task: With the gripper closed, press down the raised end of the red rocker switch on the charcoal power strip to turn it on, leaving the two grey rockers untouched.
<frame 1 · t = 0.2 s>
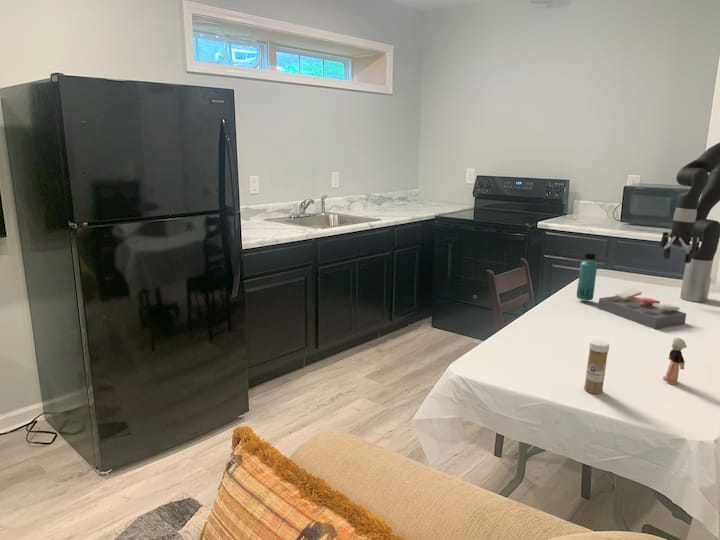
hand: (676, 260, 212), 17 cm above the table, tool pointing down, fingers open, 8 cm apart
grey rocker near bottle: (628, 295, 206), point 5 cm above the table, hinge at 10.0°
red rocker: (646, 301, 199), point 5 cm above the table, hinge at -10.0°
power strip: (639, 315, 199), on the table
grey rocker far end: (665, 307, 192), point 5 cm above the table, hinge at -10.0°
beverage bottle: (584, 302, 216), on the table
sprinkles bottle: (593, 391, 139), on the table
grandmother figurine: (671, 382, 145), on the table
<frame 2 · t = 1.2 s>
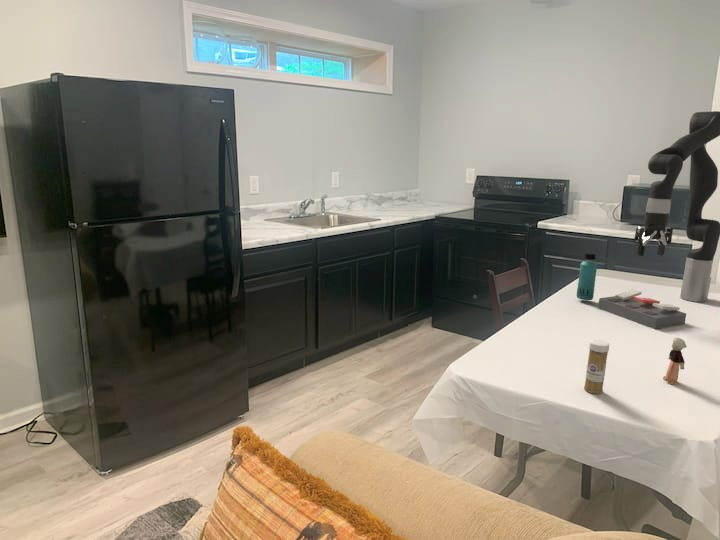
hand: (650, 255, 195), 23 cm above the table, tool pointing down, fingers open, 8 cm apart
nothing on the table moved.
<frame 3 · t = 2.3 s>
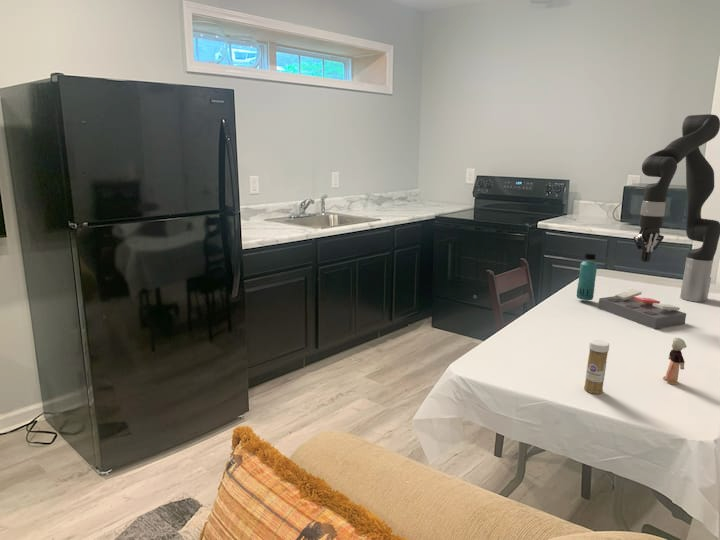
hand: (645, 261, 194), 21 cm above the table, tool pointing down, fingers closed
nothing on the table moved.
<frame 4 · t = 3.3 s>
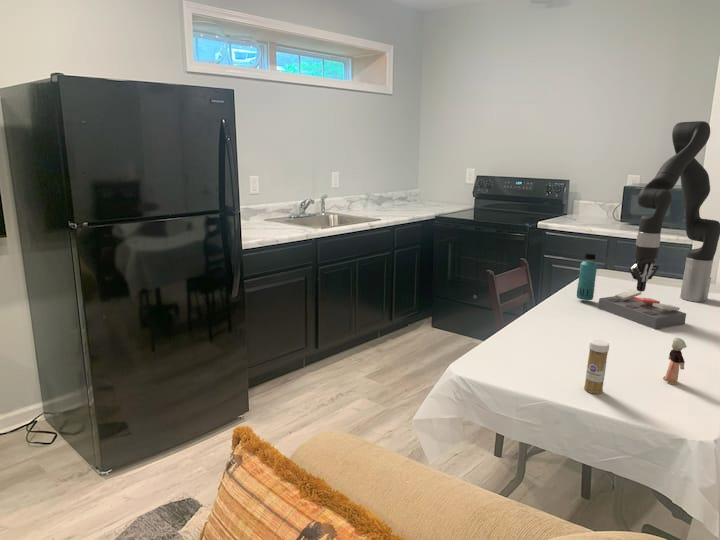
hand: (640, 290, 197), 10 cm above the table, tool pointing down, fingers closed
nothing on the table moved.
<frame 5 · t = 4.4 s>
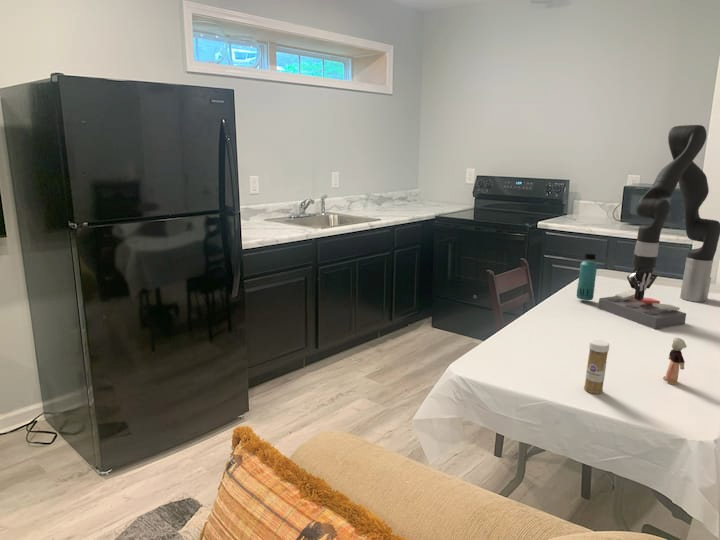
hand: (638, 299, 197), 6 cm above the table, tool pointing down, fingers closed
red rocker: (646, 301, 199), point 5 cm above the table, hinge at -8.7°, touching gripper
everything else where it was.
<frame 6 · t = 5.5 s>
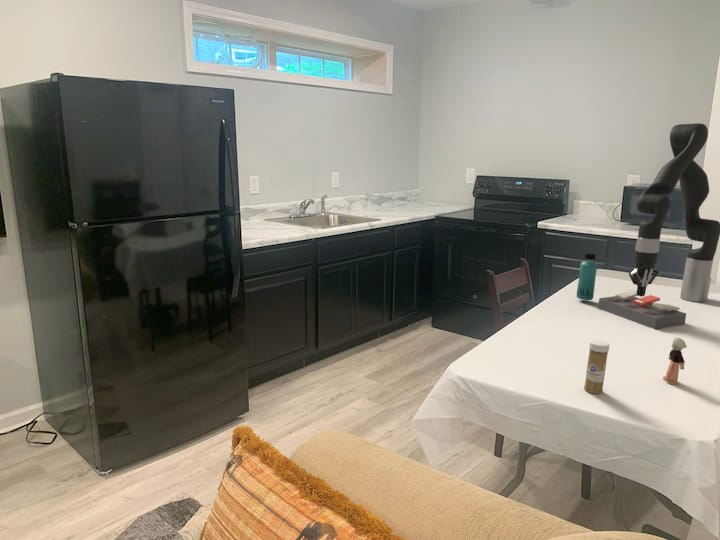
hand: (640, 295, 197), 8 cm above the table, tool pointing down, fingers closed
red rocker: (646, 301, 199), point 5 cm above the table, hinge at 8.3°
everything else where it was.
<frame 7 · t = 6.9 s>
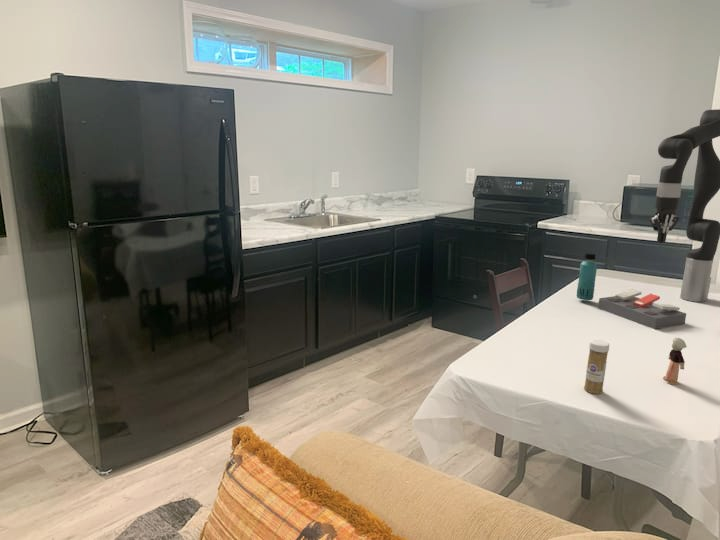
hand: (660, 242, 198), 27 cm above the table, tool pointing down, fingers closed
red rocker: (646, 301, 199), point 5 cm above the table, hinge at 15.9°, touching power strip
everything else where it was.
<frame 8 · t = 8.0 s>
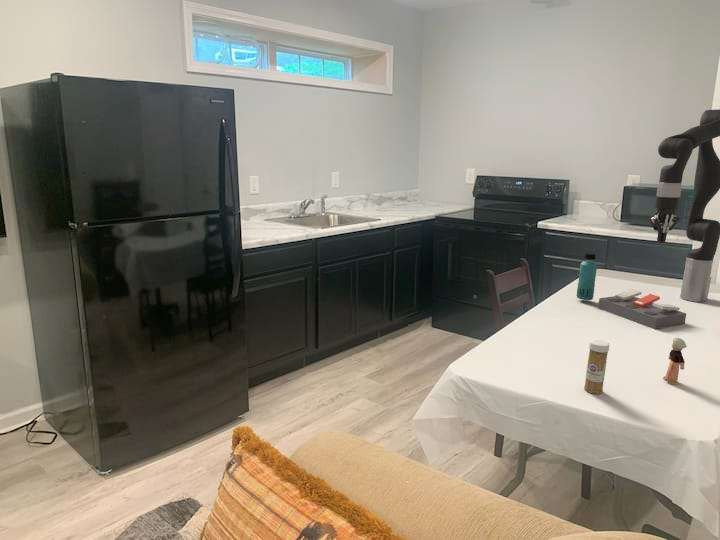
hand: (660, 242, 198), 27 cm above the table, tool pointing down, fingers closed
red rocker: (646, 301, 199), point 5 cm above the table, hinge at 14.5°
everything else where it was.
at the end: red rocker at +14° (first picture: -10°); grey rocker near bottle at +10° (first picture: +10°); grey rocker far end at -10° (first picture: -10°) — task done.
